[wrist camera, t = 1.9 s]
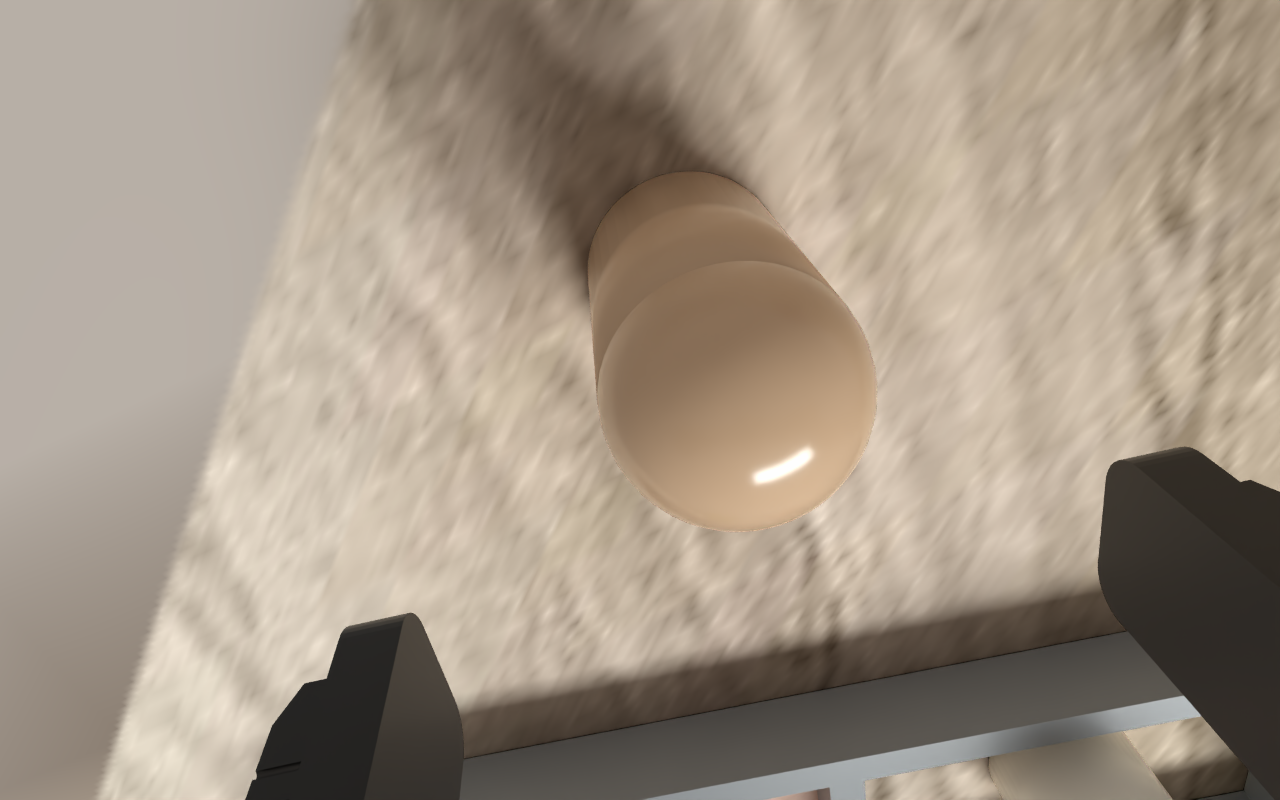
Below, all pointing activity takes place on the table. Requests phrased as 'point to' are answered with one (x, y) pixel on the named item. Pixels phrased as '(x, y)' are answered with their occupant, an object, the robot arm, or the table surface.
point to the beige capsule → (723, 357)
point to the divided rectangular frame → (854, 732)
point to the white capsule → (1077, 772)
